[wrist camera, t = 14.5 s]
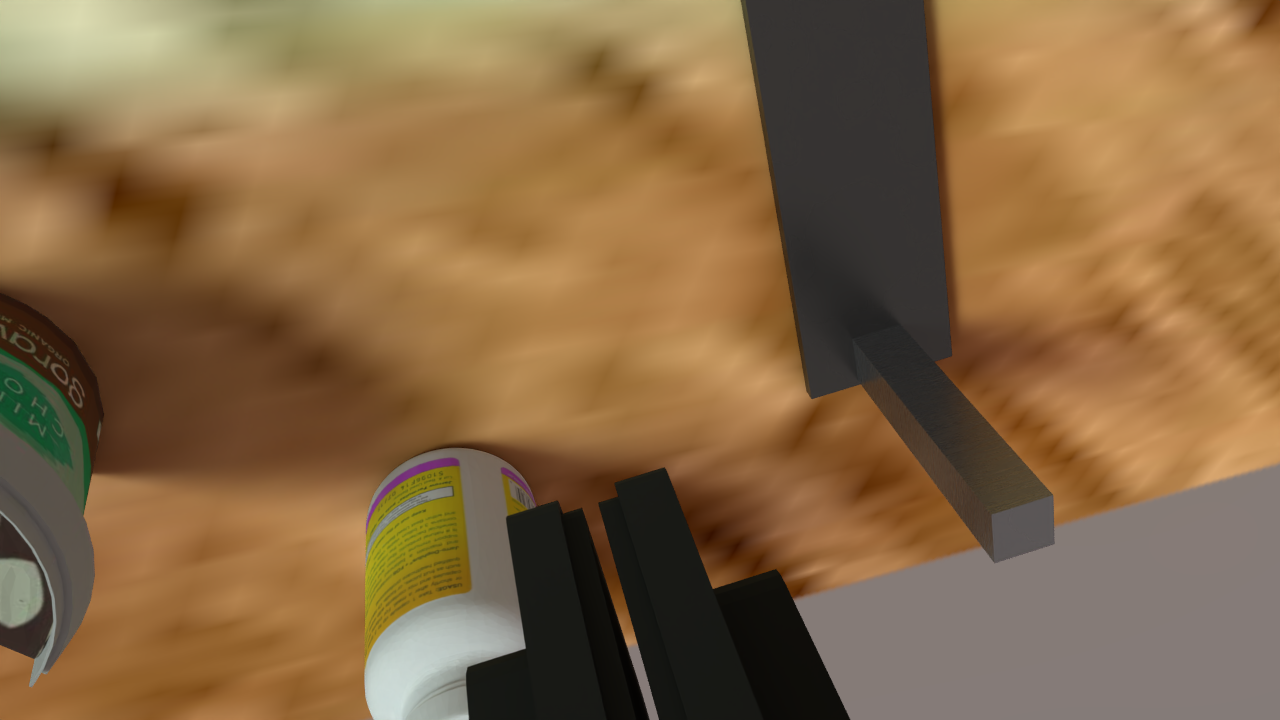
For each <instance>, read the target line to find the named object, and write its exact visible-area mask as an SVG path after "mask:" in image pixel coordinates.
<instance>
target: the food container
mask: <svg viewBox="0 0 1280 720" xmlns="http://www.w3.org/2000/svg"><path fill="white" fill-rule="evenodd" d="M103 417H104V413H103V408H102V403H101V398H100V393H99V388H98V383H97V378H96V376H95V375H94V373H93V371H92V370H91V368H90V367H89V365H88V363H87V362H86V360H85V358H84V357H83V355H82V354H81V352H80V350H79V349H78V347H77V346H76V344H75V342H74V341H73V340H71V339H70V338H69V337H68V336H67V335H66V334H65V333H64V332H62V331H61V330H60V329H59V328H58V327H57V326H56V325H55V324H54V323H52V322H51V321H50V320H49V319H48V318H47V317H45V316H43V315H42V314H40V313H39V312H37V311H36V310H34V309H32V308H31V307H29V306H28V305H26V304H24V303H22V302H19V301H17V300H15V299H13V298H11V297H9V296H6V295H4V294H1V293H0V645H2V646H4V647H7V648H9V649H11V650H14V651H16V652H19V653H21V654H24V655H26V656H28V657H31V658H33V659H35V661H34V666H33V670H32V675H31V679H30V684H29V686H30V687H32V686H33V685H34V683H35V682H36V680H37V678H38V677H39V675H40V674H41V672H42V673H44V674H47V673H48V671H49V670H50V669H51V667H52V666H53V664H54V663H55V662H56V660H57V659H58V657H59V656H60V655H61V653H62V652H63V650H64V649H65V648H66V646H67V645H68V643H69V642H70V640H71V639H72V637H73V636H74V634H75V633H76V631H77V629H78V628H79V626H80V625H81V623H82V620H83V618H84V615H85V613H86V610H87V608H88V605H89V603H90V601H91V595H92V589H93V583H94V577H95V571H94V551H93V546H92V542H91V539H90V535H89V531H88V527H87V524H86V521H85V519H84V517H83V515H84V510H85V505H86V500H87V495H88V491H89V486H90V481H91V476H92V471H93V466H94V461H95V457H96V452H97V447H98V442H99V437H100V432H101V427H102V422H103Z"/></svg>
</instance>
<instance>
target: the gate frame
mask: <svg viewBox="0 0 1280 720" xmlns="http://www.w3.org/2000/svg"><path fill="white" fill-rule="evenodd" d="M741 4H742V10H743V16H744V22H745V28H746V34H747V40H748V46H749V52H750V58H751V63H752V69H753V75H754V81H755V87H756V93H757V99H758V105H759V111H760V117H761V123H762V129H763V135H764V141H765V147H766V153H767V159H768V165H769V171H770V176H771V182H772V188H773V194H774V200H775V206H776V212H777V218H778V224H779V230H780V236H781V242H782V248H783V254H784V260H785V266H786V272H787V278H788V284H789V290H790V295H791V301H792V307H793V313H794V319H795V325H796V331H797V337H798V343H799V349H800V355H801V361H802V367H803V373H804V379H805V385H806V391H807V393H808V394H809V396H810V397H811V399H814V398H817V397H820V396H824V395H827V394H830V393H833V392H837V391H840V390H843V389H846V388H850V387H853V386H856V385H859V384H861V385H862V386H863V388H864V389H865V390H866V392H867V393H868V394H869V396H870V397H871V399H872V400H873V401H874V403H875V404H876V405H877V407H878V408H879V409H880V411H881V412H882V413H883V415H884V416H885V417H886V419H887V420H888V421H889V423H890V424H891V425H892V427H893V428H894V429H895V431H896V432H897V433H898V435H899V436H900V437H901V439H902V440H903V441H904V443H905V444H906V445H907V447H908V448H909V449H910V451H911V452H912V453H913V455H914V456H915V457H916V459H917V460H918V461H919V463H920V464H921V465H922V467H923V468H924V469H925V471H926V472H927V474H928V475H929V476H930V478H931V479H932V480H933V482H934V483H935V484H936V486H937V487H938V488H939V490H940V491H941V492H942V494H943V495H944V496H945V498H946V499H947V500H948V502H949V503H950V504H951V506H952V507H953V508H954V510H955V511H956V512H957V514H958V515H959V516H960V518H961V519H962V520H963V522H964V523H965V524H966V526H967V527H968V528H969V530H970V531H971V532H972V534H973V535H974V536H975V538H976V539H977V540H978V542H979V543H980V544H981V546H982V547H983V549H984V550H985V551H986V552H987V554H988V555H989V557H990V558H991V559H992V560H993V562H994V563H997V562H999V561H1003V560H1006V559H1009V558H1012V557H1015V556H1019V555H1022V554H1025V553H1028V552H1031V551H1034V550H1037V549H1040V548H1043V547H1047V546H1050V545H1053V544H1054V506H1053V494H1052V493H1051V492H1050V491H1049V490H1048V489H1047V488H1046V486H1045V485H1044V484H1043V483H1042V482H1041V481H1040V480H1039V479H1038V478H1037V476H1036V475H1035V474H1034V473H1033V472H1032V471H1031V470H1030V469H1029V467H1028V466H1027V465H1026V464H1025V463H1024V462H1023V461H1022V460H1021V459H1020V457H1019V456H1018V455H1017V454H1016V453H1015V452H1014V451H1013V450H1012V448H1011V447H1010V446H1009V445H1008V444H1007V443H1006V442H1005V441H1004V439H1003V438H1002V437H1001V436H1000V435H999V434H998V433H997V432H996V431H995V429H994V428H993V427H992V426H991V425H990V424H989V423H988V422H987V420H986V419H985V418H984V417H983V416H982V415H981V414H980V413H979V411H978V410H977V409H976V408H975V407H974V406H973V405H972V404H971V403H970V401H969V400H968V399H967V398H966V397H965V396H964V395H963V394H962V392H961V391H960V390H959V389H958V388H957V387H956V386H955V385H954V383H953V382H952V381H951V380H950V379H949V378H948V377H947V376H946V375H945V373H944V372H943V371H942V370H941V369H940V368H939V367H938V366H937V364H936V363H935V362H934V361H937V360H941V359H944V358H947V357H951V356H952V349H951V336H950V324H949V312H948V299H947V287H946V274H945V262H944V250H943V237H942V225H941V212H940V200H939V188H938V175H937V163H936V151H935V138H934V126H933V113H932V101H931V89H930V76H929V64H928V51H927V39H926V27H925V14H924V2H923V0H741Z"/></svg>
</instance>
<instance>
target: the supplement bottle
mask: <svg viewBox="0 0 1280 720" xmlns="http://www.w3.org/2000/svg"><path fill="white" fill-rule="evenodd" d="M535 507H536V503H535V500H534V497H533V494H532V492H531V489H530V487H529V485H528V484H527V482H526V481H525V479H524V478H523V477H522V475H521V474H520V473H519V472H518V471H517V470H516V469H515V468H514V467H513V466H511V465H510V464H509V463H507V462H506V461H504V460H502V459H500V458H499V457H496V456H494V455H492V454H489V453H486V452H483V451H479V450H474V449H467V448H445V449H438V450H434V451H429V452H426V453H423V454H421V455H418V456H416V457H414V458H412V459H409V460H408V461H406V462H404V463H403V464H401V465H400V466H398V467H397V468H396V469H394V470H393V471H392V472H391V473H390V474H389V475H388V476H387V477H386V478H385V479H384V480H383V481H382V483H381V484H380V485H379V487H378V488H377V490H376V492H375V494H374V496H373V498H372V500H371V503H370V506H369V510H368V515H367V523H366V578H365V694H366V700H367V704H368V707H369V710H370V713H371V715H372V717H373V719H374V720H469V715H468V703H467V691H466V671H467V667H469V666H472V665H475V664H478V663H481V662H485V661H488V660H491V659H494V658H497V657H500V656H503V655H507V654H510V653H513V652H516V651H519V650H522V649H526V647H525V641H524V634H523V628H522V621H521V615H520V608H519V602H518V596H517V589H516V583H515V576H514V570H513V563H512V557H511V550H510V544H509V538H508V531H507V524H506V516H509V515H512V514H515V513H518V512H522V511H525V510H528V509H531V508H535Z"/></svg>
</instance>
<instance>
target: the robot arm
mask: <svg viewBox="0 0 1280 720" xmlns="http://www.w3.org/2000/svg"><path fill="white" fill-rule="evenodd" d="M615 487H616V491H617V494H618V497H616V498H612V499H609V500H606V501H603V502H599V503H598V504H599V508H600V511H601V515H602V518H603V522H604V525H605V529H606V532H607V536H608V540H609V543H610V547H611V550H612V554H613V557H614V561H615V564H616V568H617V572H618V575H619V579H620V582H621V586H622V589H623V593H624V596H625V600H626V604H627V607H628V611H629V614H630V618H631V621H632V625H633V628H634V632H635V636H636V639H637V643H638V646H639V650H640V653H641V657H642V660H643V664H644V667H645V671H646V674H647V678H648V682H649V685H650V689H651V692H652V696H653V700H654V703H655V706H656V710H657V714H658V717H659V720H850V718H849V716H848V714H847V712H846V710H845V708H844V705H843V704H842V701H841V699H840V697H839V695H838V693H837V691H836V689H835V687H834V685H833V683H832V680H831V678H830V676H829V674H828V672H827V670H826V668H825V666H824V664H823V662H822V659H821V657H820V655H819V653H818V651H817V649H816V647H815V645H814V643H813V641H812V639H811V636H810V635H809V632H808V630H807V628H806V626H805V624H804V622H803V620H802V618H801V616H800V613H799V611H798V609H797V608H796V605H795V603H794V601H793V599H792V597H791V595H790V592H789V590H788V588H787V586H786V584H785V582H784V581H783V579H782V577H781V575H780V573H779V572H778V571H777V570H776V569H775V570H772V571H769V572H766V573H762V574H759V575H756V576H753V577H750V578H747V579H744V580H740V581H737V582H734V583H731V584H728V585H725V586H721V587H718V588H715V589H712V586H711V584H710V581H709V578H708V576H707V573H706V571H705V568H704V566H703V563H702V560H701V558H700V555H699V553H698V550H697V548H696V545H695V542H694V540H693V537H692V535H691V532H690V530H689V527H688V524H687V522H686V519H685V517H684V514H683V512H682V509H681V506H680V504H679V501H678V499H677V496H676V494H675V491H674V488H673V486H672V483H671V481H670V478H669V476H668V473H667V471H666V469H665V467H664V468H661V469H658V470H655V471H651V472H648V473H645V474H642V475H638V476H635V477H632V478H629V479H625V480H622V481H619V482H616V483H615ZM506 524H507V531H508V538H509V544H510V550H511V557H512V563H513V570H514V576H515V583H516V589H517V596H518V602H519V608H520V615H521V621H522V628H523V634H524V641H525V647H526V649H522V650H519V651H516V652H513V653H510V654H507V655H503V656H500V657H497V658H494V659H491V660H488V661H485V662H481V663H478V664H475V665H472V666H469V667H467V671H466V691H467V703H468V715H469V720H649V716H648V713H647V709H646V706H645V702H644V699H643V696H642V692H641V689H640V686H639V683H638V679H637V676H636V673H635V670H634V667H633V664H632V661H631V658H630V655H629V652H628V648H627V645H626V642H625V639H624V636H623V633H622V630H621V627H620V624H619V621H618V617H617V614H616V611H615V608H614V605H613V602H612V599H611V596H610V593H609V590H608V586H607V583H606V580H605V577H604V574H603V571H602V568H601V565H600V562H599V559H598V555H597V552H596V549H595V546H594V543H593V540H592V537H591V534H590V531H589V528H588V524H587V521H586V518H585V515H584V512H583V510H582V508H580V509H577V510H574V511H570V512H567V513H564V514H563V513H562V510H561V507H560V505H559V502H558V501H554V502H551V503H548V504H544V505H541V506H538V507H535V508H531V509H528V510H525V511H522V512H518V513H515V514H512V515H509V516H506Z"/></svg>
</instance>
